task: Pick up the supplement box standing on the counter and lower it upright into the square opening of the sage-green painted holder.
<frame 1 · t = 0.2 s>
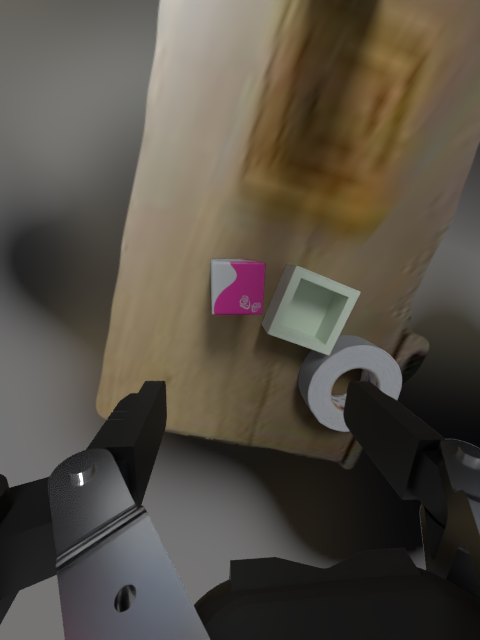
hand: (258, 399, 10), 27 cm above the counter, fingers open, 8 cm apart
tape roll: (339, 375, 42), on the counter
holder: (301, 306, 38), on the counter
supplement box: (231, 279, 36), on the counter
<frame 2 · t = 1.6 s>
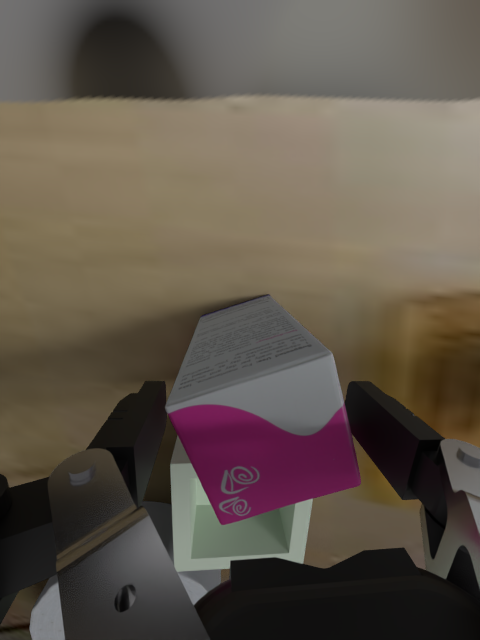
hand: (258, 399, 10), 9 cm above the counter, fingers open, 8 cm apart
tape roll: (147, 554, 24), on the counter
holder: (238, 461, 22), on the counter
supplement box: (244, 337, 19), on the counter
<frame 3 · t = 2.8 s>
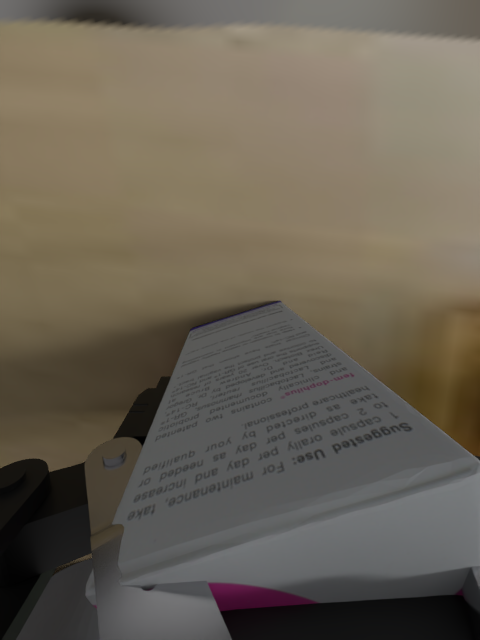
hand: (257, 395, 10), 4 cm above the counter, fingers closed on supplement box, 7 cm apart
tape roll: (127, 612, 20), on the counter
supplement box: (246, 355, 15), on the counter, touching gripper
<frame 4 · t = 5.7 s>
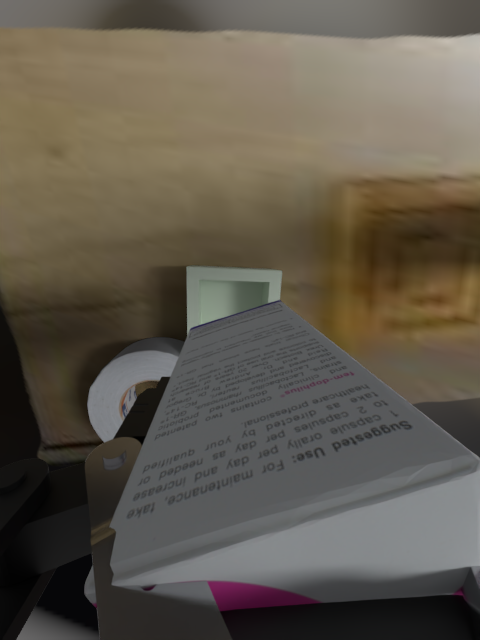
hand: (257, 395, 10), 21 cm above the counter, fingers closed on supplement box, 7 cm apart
tape roll: (164, 387, 33), on the counter
holder: (231, 306, 31), on the counter
supplement box: (246, 354, 15), point 16 cm above the counter, touching gripper
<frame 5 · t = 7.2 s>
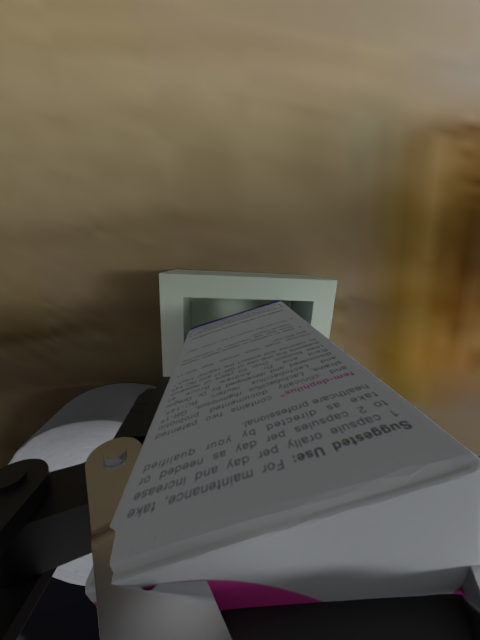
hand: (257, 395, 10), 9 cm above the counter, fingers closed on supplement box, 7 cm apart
tape roll: (136, 455, 22), on the counter
holder: (239, 334, 19), on the counter
supplement box: (246, 354, 15), point 4 cm above the counter, touching gripper
when the fingers open (7 cm above the counter, at t = 8.5 s): supplement box drops 2 cm, resting on holder.
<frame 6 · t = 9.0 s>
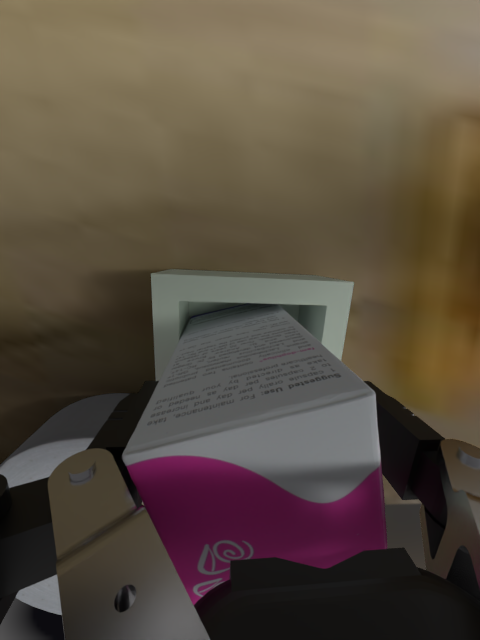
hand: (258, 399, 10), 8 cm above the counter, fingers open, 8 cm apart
tape roll: (129, 470, 20), on the counter
holder: (241, 340, 18), on the counter
supplement box: (239, 344, 17), point 1 cm above the counter, touching holder
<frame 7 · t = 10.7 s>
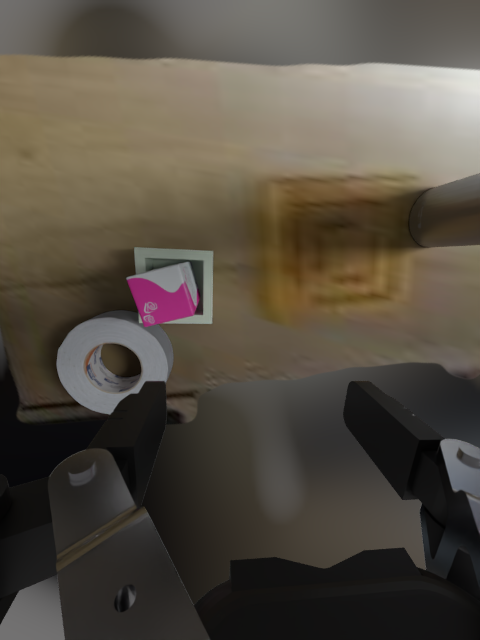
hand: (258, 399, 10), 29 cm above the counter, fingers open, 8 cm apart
tape roll: (126, 354, 39), on the counter
holder: (180, 283, 37), on the counter
supplement box: (177, 284, 36), point 1 cm above the counter, touching holder
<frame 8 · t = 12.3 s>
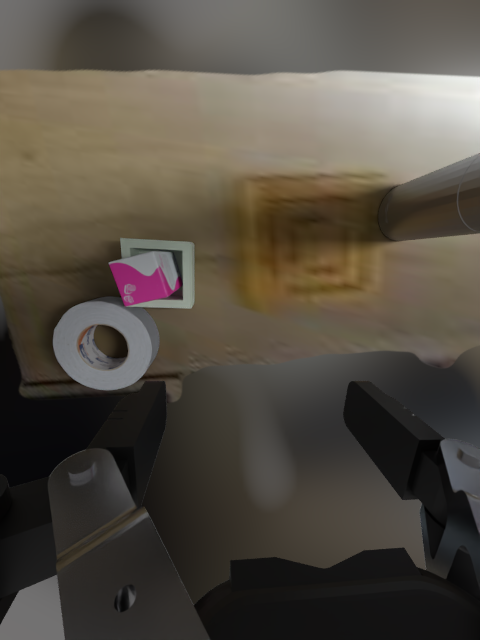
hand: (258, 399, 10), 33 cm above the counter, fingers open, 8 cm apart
tape roll: (116, 337, 43), on the counter
holder: (164, 272, 40), on the counter
supplement box: (162, 273, 39), point 1 cm above the counter, touching holder
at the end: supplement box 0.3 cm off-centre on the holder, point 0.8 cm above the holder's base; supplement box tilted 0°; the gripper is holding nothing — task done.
